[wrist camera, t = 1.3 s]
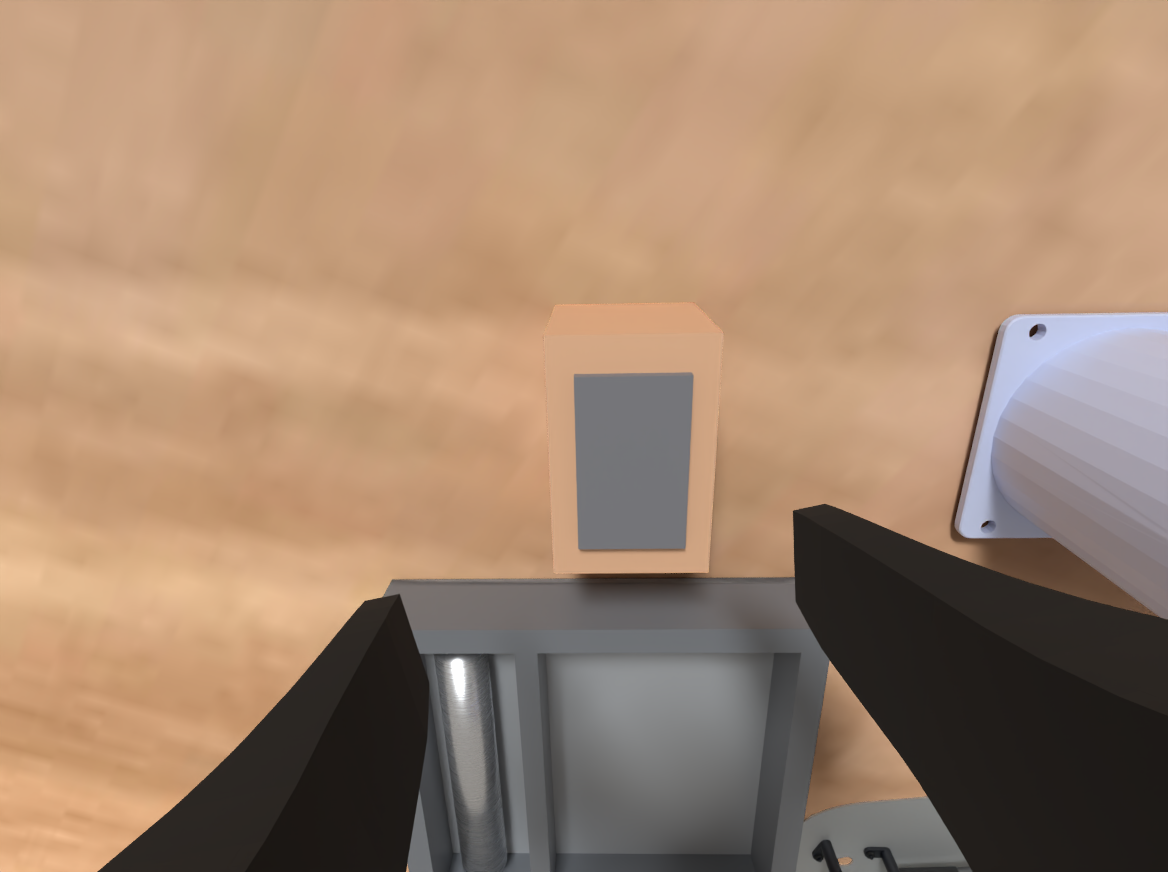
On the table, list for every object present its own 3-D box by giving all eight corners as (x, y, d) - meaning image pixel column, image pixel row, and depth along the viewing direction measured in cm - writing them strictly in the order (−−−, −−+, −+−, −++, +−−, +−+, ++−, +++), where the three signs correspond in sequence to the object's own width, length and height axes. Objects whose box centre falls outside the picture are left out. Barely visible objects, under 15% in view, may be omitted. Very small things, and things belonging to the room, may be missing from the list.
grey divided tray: (805, 577, 23) (834, 628, 20) (768, 860, 29) (786, 930, 26) (392, 579, 24) (364, 630, 21) (436, 858, 29) (419, 927, 27)
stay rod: (448, 624, 24) (423, 658, 22) (494, 631, 24) (473, 667, 22) (473, 833, 28) (454, 876, 27) (513, 843, 28) (497, 887, 26)
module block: (693, 301, 20) (726, 335, 15) (684, 494, 22) (710, 578, 17) (555, 304, 20) (542, 338, 15) (562, 496, 22) (553, 579, 17)
